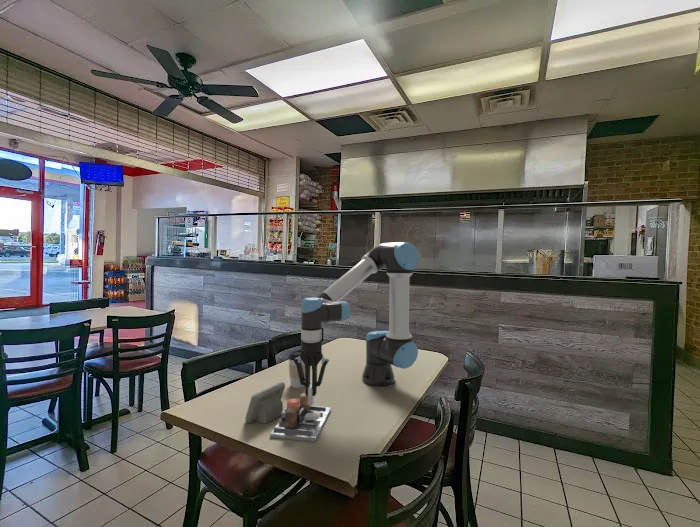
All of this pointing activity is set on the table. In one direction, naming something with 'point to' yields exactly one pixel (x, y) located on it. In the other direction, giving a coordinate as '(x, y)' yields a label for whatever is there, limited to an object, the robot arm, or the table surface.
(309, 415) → the block
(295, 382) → the coffee cup
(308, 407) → the tan wooden block
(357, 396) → the table surface
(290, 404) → the button
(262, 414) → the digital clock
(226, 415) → the table surface
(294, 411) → the dark brown wooden block
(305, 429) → the grey compartment tray
